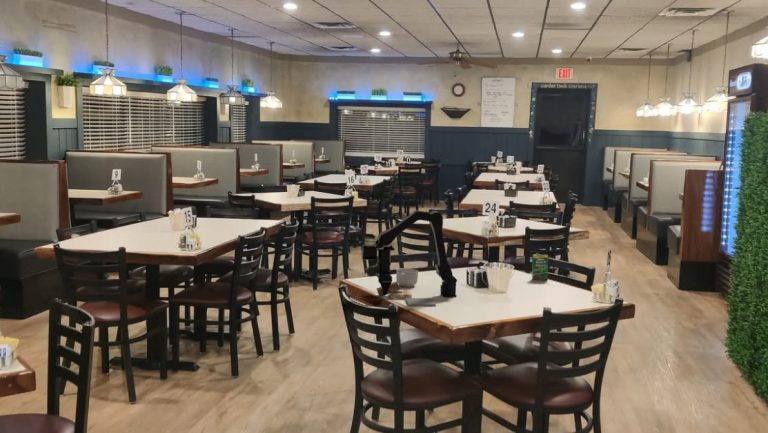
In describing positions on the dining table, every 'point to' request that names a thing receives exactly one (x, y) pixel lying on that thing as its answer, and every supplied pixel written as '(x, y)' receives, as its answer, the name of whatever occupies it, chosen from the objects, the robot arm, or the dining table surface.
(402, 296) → the oak holder
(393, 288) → the walnut block
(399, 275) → the teacup
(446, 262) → the robot arm
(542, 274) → the coffee box
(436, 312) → the dining table surface
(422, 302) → the grey mat
